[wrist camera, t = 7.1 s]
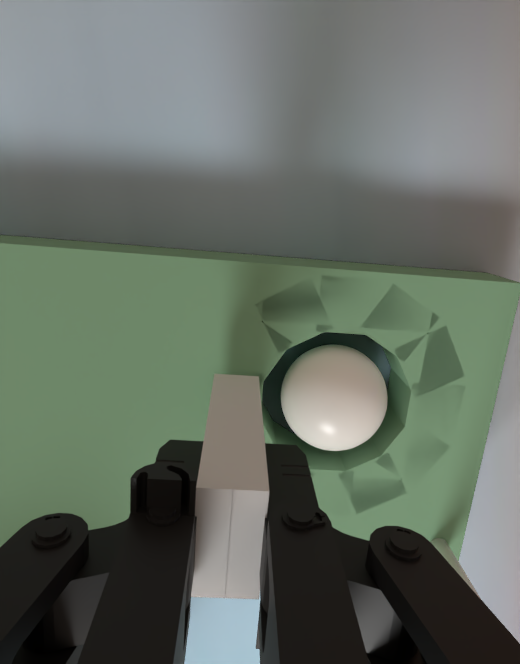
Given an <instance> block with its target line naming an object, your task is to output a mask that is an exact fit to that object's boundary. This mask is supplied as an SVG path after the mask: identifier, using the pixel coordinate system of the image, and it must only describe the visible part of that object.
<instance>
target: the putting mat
mask: <svg viewBox="0 0 520 664" xmlns="http://www.w3.org/2000/svg"><path fill="white" fill-rule="evenodd" d="M519 296H520V283H519V282H516V281H513V280H509V279H506V278H502V277H499V276H496V275H492V274H489V273H482V272H470V271H457V270H444V269H431V268H418V267H405V266H393V265H380V264H367V263H354V262H341V261H329V260H316V259H303V258H290V257H277V256H264V255H252V254H239V253H226V252H213V251H200V250H188V249H175V248H162V247H149V246H136V245H124V244H111V243H98V242H85V241H72V240H60V239H47V238H34V237H21V236H8V235H0V547H1V546H2V545H3V544H4V543H5V542H6V541H8V540H9V539H10V538H11V537H12V536H13V535H14V534H15V533H16V532H17V531H18V530H19V529H20V528H22V527H23V526H24V525H26V524H27V523H29V522H30V521H32V520H34V519H36V518H39V517H41V516H44V515H48V514H55V513H70V514H74V515H77V516H79V517H82V518H83V519H84V521H85V522H86V523H87V524H88V530H93V529H98V528H104V527H108V526H112V525H116V524H118V523H121V522H123V521H125V520H127V519H128V518H129V515H130V478H131V477H132V475H133V474H134V473H135V471H137V470H139V469H140V468H142V467H144V466H146V465H150V464H153V463H155V462H156V457H157V454H158V451H159V448H161V447H162V446H163V445H164V444H165V443H167V442H168V441H169V440H188V441H204V435H205V429H206V423H207V417H208V411H209V404H210V398H211V392H212V386H213V379H214V374H228V375H245V376H259V385H260V395H261V406H262V417H263V428H264V438H265V443H270V444H288V445H297V446H298V447H299V448H300V449H301V450H302V451H303V452H304V453H305V454H306V457H307V461H308V465H309V469H310V473H311V477H312V481H313V485H314V489H315V493H316V497H317V501H318V505H319V508H320V509H321V510H322V511H324V512H325V513H326V514H327V516H328V517H329V519H330V521H331V524H332V527H333V528H335V529H337V530H338V531H340V532H342V533H345V534H348V535H350V536H354V537H357V538H361V539H365V540H368V541H369V540H370V534H371V533H372V532H373V531H374V530H375V529H377V528H380V527H383V526H400V527H404V528H408V529H411V530H413V531H415V532H417V533H419V534H421V535H422V536H424V537H425V538H426V539H427V540H428V541H429V542H431V541H432V540H434V539H436V538H442V539H444V540H445V541H446V542H447V543H448V545H449V547H450V548H451V550H452V552H453V554H454V555H455V557H456V559H457V560H458V561H459V556H460V552H461V548H462V543H463V539H464V535H465V530H466V526H467V522H468V517H469V513H470V509H471V504H472V500H473V496H474V491H475V487H476V483H477V478H478V474H479V470H480V465H481V461H482V457H483V452H484V448H485V443H486V439H487V435H488V430H489V426H490V422H491V417H492V413H493V409H494V404H495V400H496V396H497V391H498V387H499V383H500V378H501V374H502V370H503V365H504V361H505V357H506V352H507V348H508V344H509V339H510V335H511V331H512V326H513V322H514V318H515V313H516V309H517V305H518V300H519ZM324 332H332V333H347V334H361V335H367V336H368V337H369V338H371V339H372V340H374V341H375V342H377V343H378V344H380V345H381V346H382V347H383V350H384V352H385V355H386V357H387V359H388V362H389V364H390V366H391V371H390V377H389V383H388V389H387V395H388V398H387V410H386V413H385V416H384V419H383V421H382V423H381V425H380V427H379V428H378V430H377V431H376V432H375V433H374V435H373V436H372V437H371V438H369V439H368V440H367V441H365V442H364V443H362V444H360V445H359V446H357V447H354V448H352V449H348V450H342V451H329V450H323V449H319V448H316V447H314V446H312V445H309V444H308V443H306V442H305V441H303V440H302V439H301V438H300V437H298V436H297V435H295V434H293V433H292V432H290V431H289V430H287V429H285V428H284V427H282V426H280V425H279V424H277V423H276V422H274V421H273V420H272V418H271V416H270V414H269V413H268V411H267V409H266V407H265V405H264V403H263V401H262V393H263V381H264V380H265V379H266V377H267V376H268V375H269V373H270V372H271V370H272V369H273V368H274V366H275V365H276V364H277V362H278V361H279V360H280V358H281V357H282V355H283V354H284V353H285V351H286V350H287V349H289V348H291V347H293V346H295V345H298V344H300V343H302V342H304V341H306V340H308V339H311V338H313V337H315V336H317V335H319V334H321V333H324Z"/></svg>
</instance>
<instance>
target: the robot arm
mask: <svg viewBox="0 0 520 664" xmlns="http://www.w3.org/2000/svg"><path fill="white" fill-rule="evenodd" d="M259 594H260V596H261V601H260V611H259V621H258V631H257V642H256V649H260V664H520V644H519V642H518V641H517V640H516V639H515V638H514V637H513V636H512V634H511V633H510V632H509V631H508V630H507V629H506V628H505V626H504V625H503V624H502V623H501V622H500V621H499V620H498V618H497V617H496V616H495V615H494V614H493V613H492V612H491V610H490V609H489V608H488V607H487V606H486V605H485V604H484V603H483V601H482V600H481V599H480V598H479V597H478V596H477V595H476V593H475V592H474V591H473V590H472V589H471V588H470V587H469V585H468V584H467V583H466V582H465V581H464V580H463V579H462V577H461V576H460V575H459V574H458V573H457V572H456V571H455V569H454V568H453V567H452V566H451V565H450V564H449V563H448V561H447V560H446V559H445V558H444V557H443V556H442V555H441V553H440V552H439V551H438V550H437V549H436V548H435V547H434V545H433V544H432V543H431V542H429V541H428V540H427V539H426V538H425V537H424V536H422V535H421V534H419V533H417V532H415V531H413V530H411V529H408V528H404V527H400V526H383V527H380V528H377V529H375V530H374V531H373V532H372V533H371V534H370V540H369V541H368V540H365V539H361V538H357V537H354V536H350V535H348V534H345V533H342V532H340V531H338V530H337V529H335V528H333V527H332V524H331V521H330V519H329V517H328V516H327V514H326V513H325V512H324V511H322V510H321V509H320V508H319V505H318V501H317V497H316V493H315V489H314V485H313V481H312V477H311V473H310V469H309V465H308V461H307V457H306V454H305V453H304V452H303V451H302V450H301V449H300V448H299V447H298V446H297V445H288V444H270V443H265V438H264V428H263V417H262V406H261V395H260V385H259V376H245V375H228V374H214V379H213V386H212V392H211V398H210V404H209V411H208V417H207V423H206V429H205V435H204V441H188V440H169V441H168V442H167V443H165V444H164V445H163V446H162V447H161V448H159V451H158V454H157V457H156V462H155V463H153V464H150V465H146V466H144V467H142V468H140V469H139V470H137V471H135V473H134V474H133V475H132V477H131V478H130V515H129V518H128V519H127V520H125V521H123V522H121V523H118V524H116V525H112V526H108V527H104V528H98V529H93V530H88V524H87V523H86V522H85V521H84V519H83V518H82V517H79V516H77V515H74V514H70V513H55V514H48V515H44V516H41V517H39V518H36V519H34V520H32V521H30V522H29V523H27V524H26V525H24V526H23V527H22V528H20V529H19V530H18V531H17V532H16V533H15V534H14V535H13V536H12V537H11V538H10V539H9V540H8V541H6V542H5V543H4V544H3V545H2V546H1V547H0V664H184V660H185V652H186V644H187V636H188V628H189V619H190V601H191V597H209V598H238V599H259Z"/></svg>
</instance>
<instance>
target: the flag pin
mask: <svg viewBox="0 0 520 664" xmlns="http://www.w3.org/2000/svg"><path fill="white" fill-rule="evenodd" d="M431 543H432V544H433V545H434V547H435V548H436V549H437V550H438V551H439V552H440V553H441V555H442V556H443V557H444V558H445V559H446V560H447V561H448V563H449V564H450V565H451V566H452V567H453V568H454V569H455V571H456V572H457V573H458V574H459V575H460V576H461V577H462V579H463V580H464V581H465V582H466V583H467V584H468V585H469V587H470V588H471V589H472V590H473V591H474V592H475V593H476V595H477V596H478V597H479V595H478V594H477V592H476V590H475V589H474V587H473V585H472V584H471V582H470V580H469V579H468V577H467V575H466V574H465V572H464V570H463V569H462V567H461V565H460V564H459V562H458V560H457V559H456V557H455V555H454V554H453V552H452V550H451V548H450V547H449V545H448V543H447V542H446V541H445V540H444V539H442V538H436V539H434V540H432V541H431ZM479 598H480V597H479Z"/></svg>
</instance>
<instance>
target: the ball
mask: <svg viewBox="0 0 520 664" xmlns="http://www.w3.org/2000/svg"><path fill="white" fill-rule="evenodd" d="M387 398H388V395H387V389H386V384H385V381H384V379H383V376H382V374H381V372H380V371H379V369H378V368H377V366H376V365H375V364H374V363H373V361H372V360H370V359H369V358H368V357H367V356H366V355H364V354H363V353H361V352H360V351H358V350H356V349H353V348H351V347H347V346H343V345H335V344H332V345H323V346H319V347H316V348H313V349H311V350H308V351H307V352H305V353H303V354H302V355H301V356H299V357H298V358H297V359H296V360H295V361H294V362H293V364H292V365H291V366H290V368H289V369H288V371H287V373H286V375H285V377H284V380H283V383H282V388H281V406H282V410H283V413H284V416H285V419H286V421H287V422H288V424H289V426H290V428H291V429H292V430H293V431H294V433H295V434H296V435H297V436H298V437H300V438H301V439H302V440H303V441H305V442H306V443H308V444H309V445H312V446H314V447H316V448H319V449H323V450H329V451H342V450H348V449H352V448H354V447H357V446H359V445H360V444H362V443H364V442H365V441H367V440H368V439H369V438H371V437H372V436H373V435H374V433H375V432H376V431H377V430H378V428H379V427H380V425H381V423H382V421H383V419H384V416H385V413H386V410H387Z"/></svg>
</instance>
